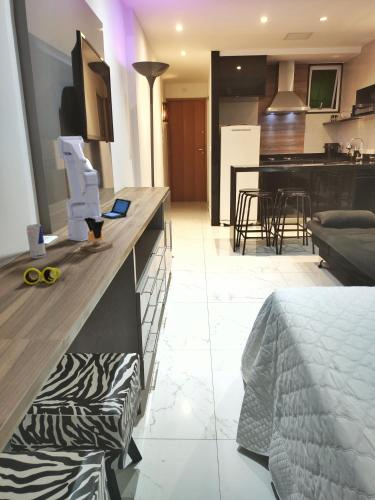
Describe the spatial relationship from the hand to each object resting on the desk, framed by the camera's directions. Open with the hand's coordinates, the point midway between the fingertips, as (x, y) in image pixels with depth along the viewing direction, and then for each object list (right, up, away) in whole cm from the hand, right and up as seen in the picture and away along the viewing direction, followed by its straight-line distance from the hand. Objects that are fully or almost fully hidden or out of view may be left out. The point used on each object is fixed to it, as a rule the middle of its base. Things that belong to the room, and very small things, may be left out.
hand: (95, 236), depth 145 cm
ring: (0, -1, 0) cm, 1 cm away
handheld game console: (-5, +14, +68) cm, 70 cm away
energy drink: (-20, -8, -8) cm, 23 cm away
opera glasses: (-8, -15, -33) cm, 37 cm away
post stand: (0, -5, +1) cm, 5 cm away
